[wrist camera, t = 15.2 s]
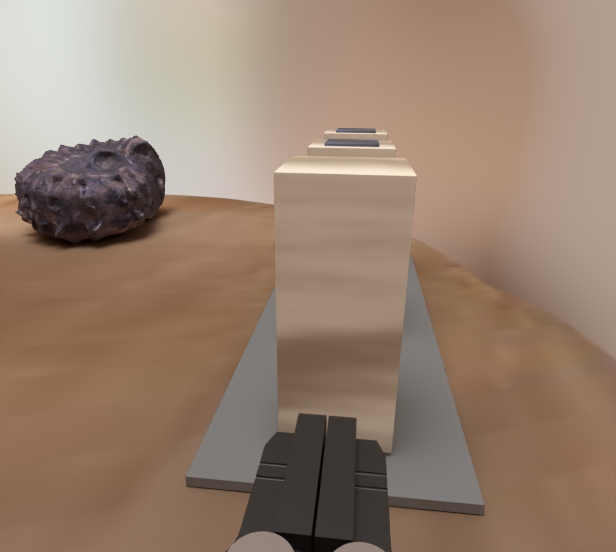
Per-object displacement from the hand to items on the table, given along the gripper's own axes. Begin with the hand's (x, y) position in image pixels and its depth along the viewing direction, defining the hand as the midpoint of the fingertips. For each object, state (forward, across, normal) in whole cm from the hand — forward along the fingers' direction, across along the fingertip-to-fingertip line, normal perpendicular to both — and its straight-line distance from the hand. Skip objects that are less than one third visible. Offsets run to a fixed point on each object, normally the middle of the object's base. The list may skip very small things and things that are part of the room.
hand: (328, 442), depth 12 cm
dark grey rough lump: (+43, -30, -7) cm, 53 cm away
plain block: (+9, 0, -6) cm, 11 cm away
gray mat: (+20, 0, -7) cm, 21 cm away
